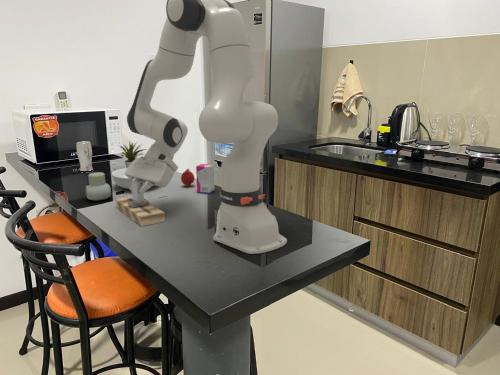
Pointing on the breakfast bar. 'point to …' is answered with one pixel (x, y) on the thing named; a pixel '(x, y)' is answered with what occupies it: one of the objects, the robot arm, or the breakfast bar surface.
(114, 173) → the serving bowl
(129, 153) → the house plant
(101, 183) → the air freshener
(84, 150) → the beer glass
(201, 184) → the supplement box
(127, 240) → the breakfast bar surface
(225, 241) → the robot arm
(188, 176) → the onion
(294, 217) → the breakfast bar surface
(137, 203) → the grey upright piece
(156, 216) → the tan flat bar
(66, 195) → the breakfast bar surface
